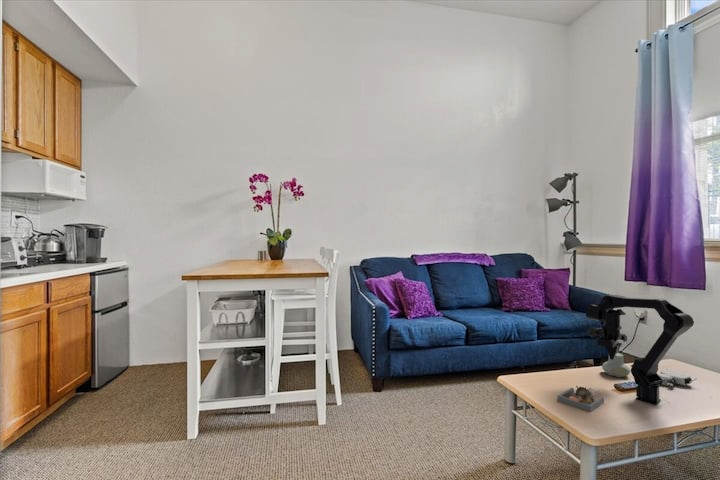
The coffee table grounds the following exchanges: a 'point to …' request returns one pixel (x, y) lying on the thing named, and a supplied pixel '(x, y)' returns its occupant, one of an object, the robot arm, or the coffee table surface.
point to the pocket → (576, 403)
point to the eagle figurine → (585, 395)
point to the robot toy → (674, 378)
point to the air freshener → (616, 366)
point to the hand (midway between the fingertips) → (611, 359)
